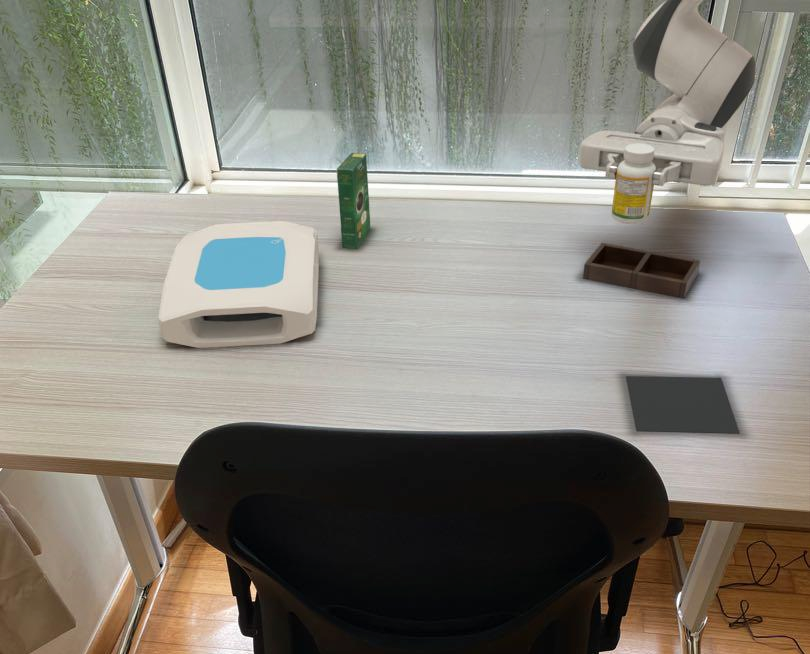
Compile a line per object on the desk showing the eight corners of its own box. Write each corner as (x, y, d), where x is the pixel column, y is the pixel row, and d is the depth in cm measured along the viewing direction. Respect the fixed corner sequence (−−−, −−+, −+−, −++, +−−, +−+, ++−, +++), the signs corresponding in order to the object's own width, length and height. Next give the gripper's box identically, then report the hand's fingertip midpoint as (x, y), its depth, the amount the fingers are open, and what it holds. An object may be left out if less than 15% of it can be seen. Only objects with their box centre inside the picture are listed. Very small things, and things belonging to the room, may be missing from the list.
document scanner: (164, 352, 121) (154, 311, 117) (189, 262, 142) (182, 224, 138) (316, 343, 122) (311, 302, 117) (319, 255, 142) (315, 217, 138)
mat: (720, 380, 112) (721, 377, 112) (738, 436, 103) (739, 432, 103) (625, 379, 113) (625, 375, 113) (635, 434, 104) (636, 430, 104)
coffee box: (355, 230, 149) (350, 150, 140) (371, 231, 149) (367, 151, 140) (341, 250, 143) (334, 168, 135) (357, 251, 143) (352, 170, 134)
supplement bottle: (632, 228, 123) (642, 158, 117) (603, 217, 126) (611, 148, 120) (656, 217, 126) (667, 147, 119) (627, 206, 129) (636, 138, 122)
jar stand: (697, 277, 133) (700, 260, 131) (683, 301, 128) (686, 283, 126) (599, 259, 138) (601, 242, 136) (582, 281, 133) (584, 263, 131)
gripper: (597, 113, 132) (565, 143, 123) (736, 130, 124) (711, 162, 116) (593, 157, 136) (561, 188, 127) (726, 175, 129) (702, 210, 120)
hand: (634, 176), depth 121 cm, fingers closed on supplement bottle, 5 cm apart
